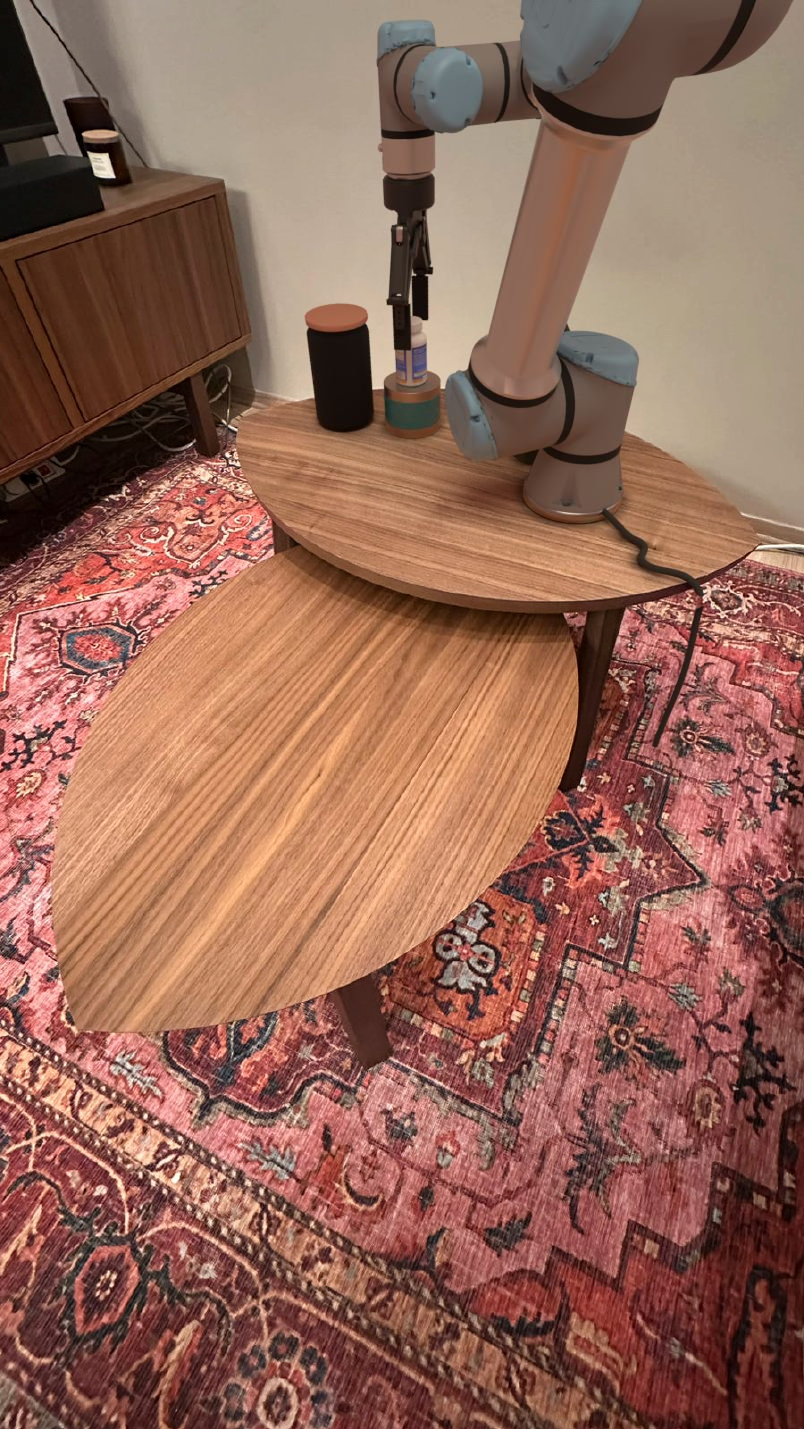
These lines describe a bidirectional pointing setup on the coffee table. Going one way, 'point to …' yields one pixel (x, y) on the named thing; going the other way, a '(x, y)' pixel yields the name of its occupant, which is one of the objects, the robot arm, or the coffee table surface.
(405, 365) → the pill bottle
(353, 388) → the coffee jar
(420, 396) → the tin
